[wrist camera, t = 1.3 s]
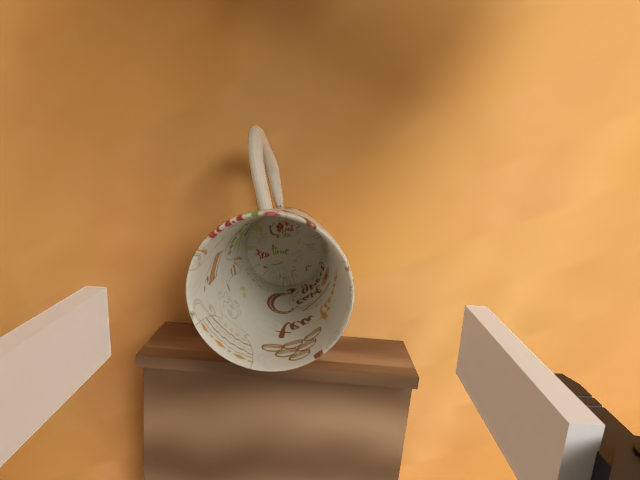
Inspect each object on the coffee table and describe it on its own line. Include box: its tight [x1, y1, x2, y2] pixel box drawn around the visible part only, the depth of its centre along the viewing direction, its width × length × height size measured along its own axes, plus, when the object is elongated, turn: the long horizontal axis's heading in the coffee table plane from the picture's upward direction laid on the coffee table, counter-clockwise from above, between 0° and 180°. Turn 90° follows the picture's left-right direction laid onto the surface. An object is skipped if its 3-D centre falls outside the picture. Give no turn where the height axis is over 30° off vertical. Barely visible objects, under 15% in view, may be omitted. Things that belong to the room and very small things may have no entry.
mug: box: [186, 125, 354, 372], centre depth 25 cm, size 8×12×10 cm, turn 11°
